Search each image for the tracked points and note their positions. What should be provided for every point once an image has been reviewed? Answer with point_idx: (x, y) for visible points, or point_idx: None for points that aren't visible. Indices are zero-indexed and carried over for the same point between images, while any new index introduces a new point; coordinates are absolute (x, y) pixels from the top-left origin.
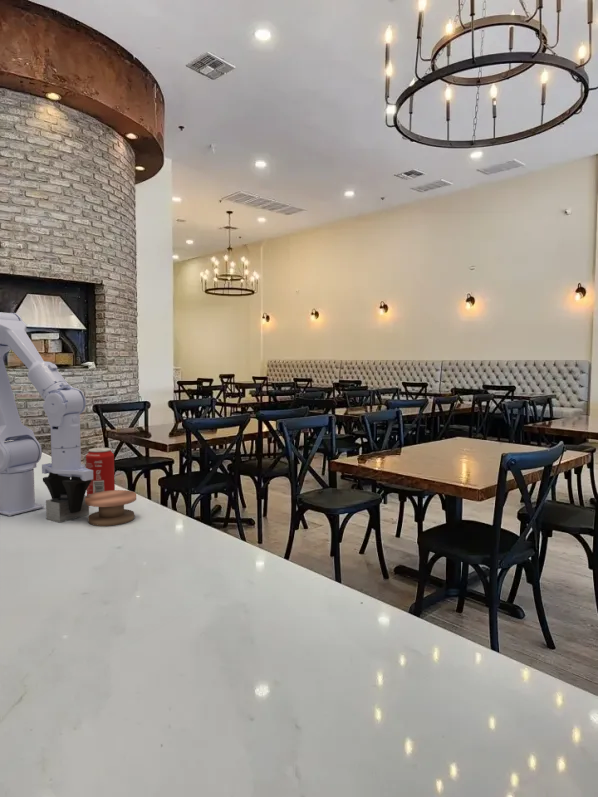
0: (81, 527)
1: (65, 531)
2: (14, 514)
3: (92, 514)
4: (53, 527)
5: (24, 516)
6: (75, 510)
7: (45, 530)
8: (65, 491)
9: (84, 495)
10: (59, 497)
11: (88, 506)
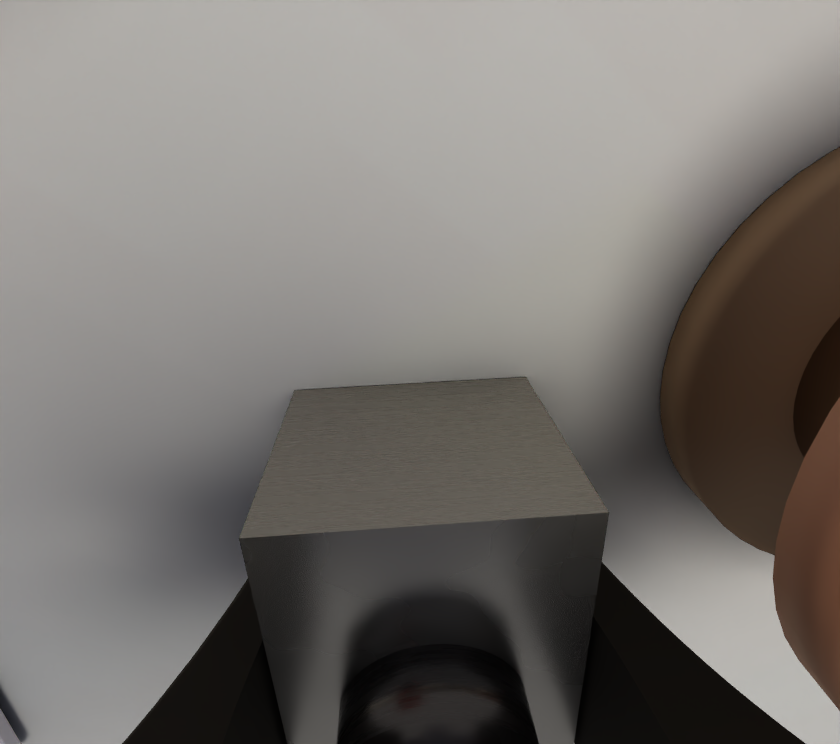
0: (760, 598)
1: None
2: (12, 730)
3: (718, 477)
4: None
5: (101, 690)
6: None
7: None
8: (242, 737)
9: (511, 528)
10: (302, 741)
11: (554, 429)
